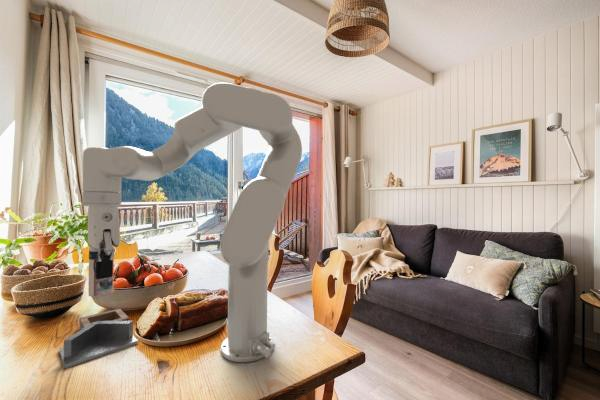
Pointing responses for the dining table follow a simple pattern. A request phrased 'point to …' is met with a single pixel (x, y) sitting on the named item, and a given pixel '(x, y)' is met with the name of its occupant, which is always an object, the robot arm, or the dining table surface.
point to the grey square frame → (103, 317)
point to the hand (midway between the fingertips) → (101, 274)
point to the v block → (97, 341)
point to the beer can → (98, 285)
